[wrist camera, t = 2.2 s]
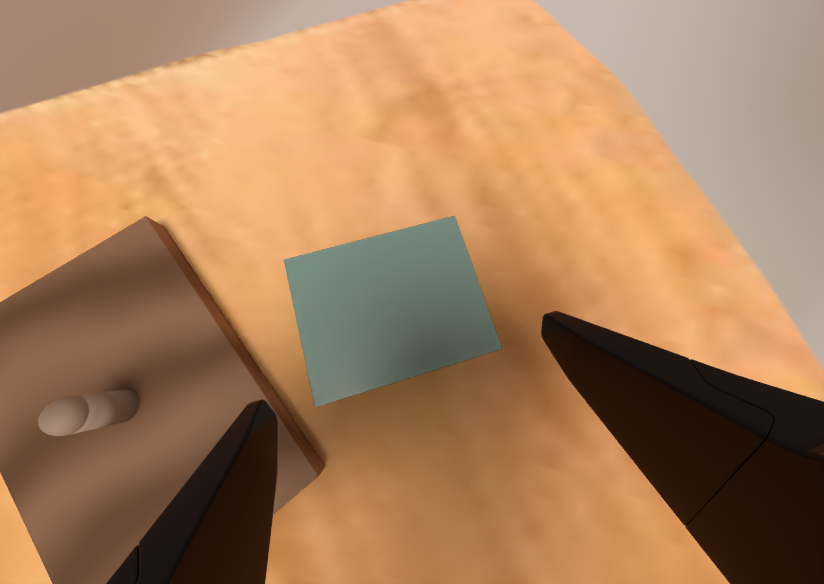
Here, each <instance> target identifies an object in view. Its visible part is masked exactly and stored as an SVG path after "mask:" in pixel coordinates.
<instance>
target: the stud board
mask: <svg viewBox="0 0 824 584" xmlns="http://www.w3.org/2000/svg"><path fill="white" fill-rule="evenodd" d="M260 399H264V400H265V401H266V402H267V403H268V404H269V406H270V407H271V409H272V410H273V411H274V413H275V414H276V416H277V420H278V469H277V483H276V492H275V501H274V510H273V514H274V513H276V512H277V511H278V510H279V509H280V508H281V507H283V506H284V505H285V504H286V503H287V502H289V501H290V500H291V499H292V498H293V497H294V496H296V495H297V494H298V493H299V492H300V491H301V490H303V489H304V488H305V487H306V486H307V485H309V484H310V483H311V482H312V481H313V480H314V479H316V478H317V477H318V476H319V474H320V473H321V472H322V470H323V469H324V467H325V466H324V464H323V463H322V461H321V460H320V458H319V457H318V455H317V454H316V452H315V451H314V449H313V448H312V446H311V445H310V444H309V442H308V441H307V439H306V438H305V436H304V435H303V433H302V432H301V430H300V429H299V427H298V426H297V424H296V423H295V421H294V420H293V418H292V417H291V415H290V414H289V412H288V411H287V409H286V408H285V406H284V405H283V403H282V402H281V400H280V399H279V397H278V396H277V394H276V393H275V391H274V390H273V388H272V387H271V385H270V384H269V382H268V381H267V379H266V378H265V377H264V375H263V374H262V372H261V371H260V369H259V368H258V366H257V365H256V363H255V362H254V360H253V359H252V357H251V356H250V354H249V353H248V351H247V350H246V348H245V347H244V345H243V344H242V342H241V341H240V339H239V338H238V336H237V335H236V333H235V332H234V330H233V329H232V327H231V326H230V324H229V323H228V321H227V320H226V318H225V317H224V315H223V314H222V313H221V311H220V310H219V308H218V307H217V305H216V304H215V302H214V301H213V299H212V298H211V296H210V295H209V293H208V292H207V290H206V289H205V287H204V286H203V284H202V283H201V281H200V280H199V278H198V277H197V275H196V274H195V272H194V271H193V269H192V268H191V266H190V265H189V263H188V262H187V260H186V259H185V257H184V256H183V254H182V253H181V251H180V250H179V248H178V247H177V246H176V244H175V243H174V241H173V240H172V238H171V237H170V235H169V234H168V232H167V231H166V229H165V228H164V226H162V225H160V224H159V223H157V222H155V221H153V220H151V219H150V218H148V217H146V216H145V217H144V218H142V219H140V220H138V221H137V222H135V223H133V224H132V225H130V226H128V227H127V228H125V229H123V230H122V231H120V232H118V233H116V234H115V235H113V236H111V237H110V238H108V239H106V240H105V241H103V242H101V243H100V244H98V245H96V246H95V247H93V248H91V249H89V250H88V251H86V252H84V253H83V254H81V255H79V256H78V257H76V258H74V259H73V260H71V261H69V262H67V263H66V264H64V265H62V266H61V267H59V268H57V269H56V270H54V271H52V272H51V273H49V274H47V275H45V276H44V277H42V278H40V279H39V280H37V281H35V282H34V283H32V284H30V285H29V286H27V287H25V288H23V289H22V290H20V291H18V292H17V293H15V294H13V295H12V296H10V297H8V298H7V299H5V300H3V301H2V302H0V472H1V475H2V477H3V479H4V481H5V483H6V485H7V487H8V489H9V492H10V494H11V496H12V498H13V500H14V502H15V504H16V507H17V509H18V511H19V513H20V515H21V517H22V519H23V521H24V524H25V526H26V528H27V530H28V532H29V534H30V536H31V538H32V541H33V543H34V545H35V547H36V549H37V551H38V553H39V555H40V558H41V560H42V562H43V564H44V566H45V568H46V570H47V572H48V575H49V577H50V579H51V581H52V583H53V584H106V582H107V581H108V580H109V579H110V578H111V576H112V575H113V574H114V573H115V571H116V570H117V569H118V568H119V566H120V565H121V564H122V563H123V561H124V560H125V559H126V558H127V556H128V555H129V554H130V552H131V551H132V550H133V549H134V547H135V546H137V545H139V541H140V540H141V539H142V537H143V536H144V535H145V534H146V532H147V531H148V530H149V529H150V527H151V526H152V525H153V523H154V522H155V521H156V520H157V518H158V517H159V516H160V515H161V513H162V512H163V511H164V509H165V508H166V507H167V506H168V504H169V503H170V502H171V501H172V499H173V498H174V497H175V496H176V494H177V493H178V492H179V490H180V489H181V488H182V487H183V485H184V484H185V483H186V482H187V480H188V479H189V478H190V476H191V475H192V474H193V473H194V471H195V470H196V469H197V468H198V466H199V465H200V464H201V463H202V461H203V460H204V459H205V457H206V456H207V455H208V454H209V452H210V451H211V450H212V449H213V447H214V446H215V445H216V444H217V442H218V441H219V440H220V438H221V437H222V436H223V435H224V433H225V432H226V431H227V430H228V428H229V427H230V426H231V424H232V423H233V422H234V421H235V419H236V418H237V417H238V416H239V414H240V413H241V412H242V411H243V409H244V408H245V407H246V406H247V404H249V403H250V402H254V401H257V400H260Z"/></svg>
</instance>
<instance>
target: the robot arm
mask: <svg viewBox="0 0 824 584" xmlns="http://www.w3.org/2000/svg"><path fill="white" fill-rule="evenodd" d="M541 334H542V338H543V340H544V342H545V343H546V345H547V346H548V348H549V350H550V351H551V353H552V354H553V356H554V357H555V359H556V361H557V362H558V364H559V365H560V367H561V368H562V370H563V372H564V373H565V375H566V376H567V378H568V379H569V380H570V382H571V383H572V384H573V386H574V387H575V388H576V389H577V391H578V392H579V393H580V394H581V396H582V397H583V398H584V399H585V401H586V402H587V403H588V405H589V406H590V407H591V408H592V410H593V411H594V412H595V413H596V415H597V416H598V417H599V418H600V420H601V421H602V422H603V423H604V425H605V426H606V427H607V429H608V430H609V431H610V432H611V434H612V435H613V436H614V437H615V439H616V440H617V441H618V442H619V444H620V445H621V446H622V447H623V449H624V450H625V451H626V453H627V454H628V455H629V456H630V458H631V459H632V460H633V461H634V463H635V464H636V465H637V466H638V468H639V469H640V470H641V471H642V473H643V474H644V475H645V477H646V478H647V479H648V480H649V482H650V483H651V484H652V485H653V487H654V488H655V489H656V490H657V492H658V493H659V494H660V495H661V497H662V498H663V499H664V501H665V502H666V503H667V504H668V506H669V507H670V508H671V509H672V511H673V512H674V513H675V514H676V516H677V517H678V518H679V519H680V521H681V522H682V523H683V524H684V525H685V526H686V529H687V530H688V531H689V532H690V534H691V535H692V536H693V537H694V539H695V540H696V541H697V543H698V544H699V545H700V546H701V548H702V549H703V550H704V551H705V553H706V554H707V555H708V556H709V558H710V559H711V560H712V561H713V563H714V564H715V565H716V567H717V568H718V569H719V570H720V572H721V573H722V574H723V575H724V577H725V578H726V579H727V580H728V582H729V583H730V584H824V402H823V401H820V400H816V399H813V398H810V397H806V396H803V395H800V394H796V393H793V392H790V391H787V390H783V389H780V388H777V387H773V386H770V385H767V384H764V383H761V382H757V381H754V380H751V379H748V378H745V377H742V376H738V375H735V374H732V373H730V372H727V371H724V370H721V369H718V368H715V367H712V366H709V365H706V364H704V363H701V362H698V361H695V360H692V359H690V360H689V359H688V358H687V357H684V356H681V355H678V354H676V353H673V352H670V351H667V350H664V349H662V348H659V347H656V346H653V345H651V344H648V343H645V342H642V341H639V340H637V339H634V338H631V337H628V336H625V335H623V334H620V333H617V332H614V331H612V330H609V329H606V328H603V327H600V326H598V325H595V324H592V323H589V322H586V321H584V320H581V319H578V318H575V317H573V316H570V315H567V314H564V313H561V312H558V311H553V312H550V313H546V314H544V316H543V320H542V330H541ZM277 469H278V420H277V416H276V414H275V413H274V411H273V410H272V409H271V407H270V406H269V404H268V403H267V402H266V401H265V400H264V399H260V400H257V401H254V402H250V403H249V404H247V406H246V407H245V408H244V409H243V411H242V412H241V413H240V414H239V416H238V417H237V418H236V419H235V421H234V422H233V423H232V424H231V426H230V427H229V428H228V430H227V431H226V432H225V433H224V435H223V436H222V437H221V438H220V440H219V441H218V442H217V444H216V445H215V446H214V447H213V449H212V450H211V451H210V452H209V454H208V455H207V456H206V457H205V459H204V460H203V461H202V463H201V464H200V465H199V466H198V468H197V469H196V470H195V471H194V473H193V474H192V475H191V476H190V478H189V479H188V480H187V482H186V483H185V484H184V485H183V487H182V488H181V489H180V490H179V492H178V493H177V494H176V496H175V497H174V498H173V499H172V501H171V502H170V503H169V504H168V506H167V507H166V508H165V509H164V511H163V512H162V513H161V515H160V516H159V517H158V518H157V520H156V521H155V522H154V523H153V525H152V526H151V527H150V529H149V530H148V531H147V532H146V534H145V535H144V536H143V537H142V539H141V540H140V541H139V545H137V546H135V547H134V549H133V550H132V551H131V552H130V554H129V555H128V556H127V558H126V559H125V560H124V561H123V563H122V564H121V565H120V566H119V568H118V569H117V570H116V571H115V573H114V574H113V575H112V576H111V578H110V579H109V580H108V581H107V582H106V584H265V580H266V571H267V562H268V553H269V545H270V536H271V527H272V518H273V510H274V501H275V492H276V483H277Z"/></svg>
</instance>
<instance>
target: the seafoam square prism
mask: <svg viewBox="0 0 824 584" xmlns="http://www.w3.org/2000/svg"><path fill="white" fill-rule="evenodd" d="M284 263H285V268H286V273H287V277H288V282H289V287H290V292H291V296H292V301H293V306H294V310H295V315H296V320H297V325H298V329H299V334H300V339H301V343H302V348H303V353H304V357H305V362H306V367H307V372H308V376H309V381H310V386H311V390H312V395H313V400H314V405H315V407H318V406H321V405H325V404H328V403H331V402H334V401H337V400H341V399H344V398H347V397H350V396H353V395H357V394H360V393H363V392H366V391H369V390H373V389H376V388H379V387H382V386H385V385H389V384H392V383H395V382H398V381H401V380H405V379H408V378H411V377H414V376H417V375H421V374H424V373H427V372H430V371H433V370H437V369H440V368H443V367H446V366H449V365H453V364H456V363H459V362H462V361H465V360H469V359H472V358H475V357H478V356H481V355H485V354H488V353H491V352H494V351H497V350H501V349H502V346H501V343H500V341H499V338H498V335H497V332H496V329H495V327H494V324H493V321H492V318H491V316H490V313H489V310H488V307H487V304H486V302H485V299H484V296H483V293H482V290H481V288H480V285H479V282H478V279H477V276H476V274H475V271H474V268H473V265H472V263H471V260H470V257H469V254H468V251H467V249H466V246H465V243H464V240H463V237H462V235H461V232H460V229H459V226H458V223H457V221H456V218H455V216H452V217H448V218H444V219H440V220H436V221H432V222H428V223H424V224H420V225H417V226H413V227H409V228H405V229H401V230H397V231H393V232H389V233H386V234H382V235H378V236H374V237H370V238H366V239H362V240H358V241H354V242H351V243H347V244H343V245H339V246H335V247H331V248H327V249H323V250H319V251H316V252H312V253H308V254H304V255H300V256H296V257H292V258H288V259H284Z"/></svg>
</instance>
